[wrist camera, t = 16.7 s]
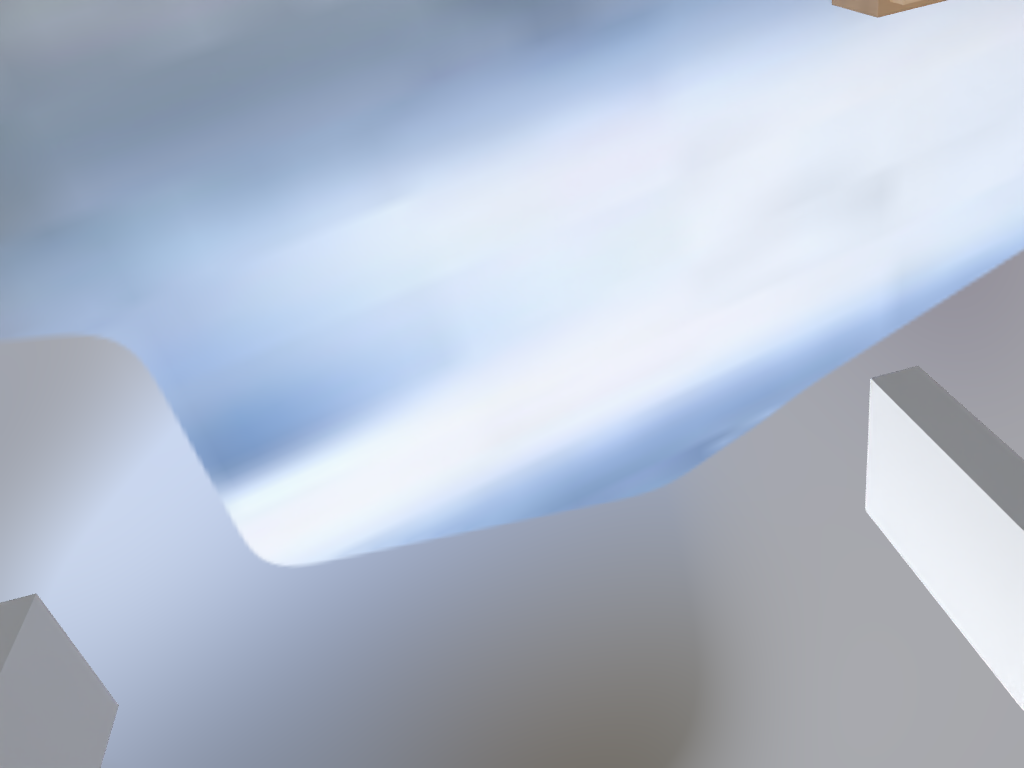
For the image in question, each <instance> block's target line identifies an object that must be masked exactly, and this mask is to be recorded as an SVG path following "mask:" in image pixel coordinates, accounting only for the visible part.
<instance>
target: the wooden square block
mask: <svg viewBox="0 0 1024 768" xmlns="http://www.w3.org/2000/svg"><path fill="white" fill-rule="evenodd" d="M942 1H946V0H832V5H835V6H839V7H842V8H846V9H850V10H853V11H857V12H860V13H864V14H867V15H871V16H874V17H882V16H886V15H890V14H894V13H898V12H902V11H906V10H910V9H914V8H918V7H922V6H926V5H930V4H934V3H938V2H942Z"/></svg>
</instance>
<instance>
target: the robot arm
mask: <svg viewBox="0 0 1024 768" xmlns="http://www.w3.org/2000/svg"><path fill="white" fill-rule="evenodd" d="M870 381H871V382H870V404H869V429H868V454H867V481H866V505H865V510H866V512H867V513H868V514H869V515H870V517H871V518H872V519H873V520H874V522H875V523H876V524H877V525H878V527H879V528H880V529H881V531H882V532H883V533H884V534H885V536H886V537H887V538H888V540H889V541H890V542H891V543H892V545H893V546H894V547H895V548H896V550H897V551H898V552H899V554H900V555H901V556H902V557H903V559H904V560H905V561H906V562H907V564H908V565H909V566H910V567H911V569H912V570H913V571H914V572H915V574H916V575H917V576H918V578H919V579H920V580H921V581H922V583H923V584H924V585H925V587H926V588H927V589H928V590H929V592H930V593H931V594H932V595H933V597H934V598H935V599H936V600H937V602H938V603H939V604H940V606H941V607H942V608H943V609H944V611H945V612H946V613H947V614H948V616H949V617H950V618H951V620H952V621H953V622H954V623H955V625H956V626H957V627H958V628H959V630H960V631H961V632H962V633H963V635H964V636H965V637H966V639H967V640H968V641H969V642H970V644H971V645H972V646H973V647H974V649H975V650H976V651H977V653H978V654H979V655H980V656H981V658H982V659H983V660H984V661H985V663H986V664H987V665H988V666H989V668H990V669H991V670H992V672H993V673H994V674H995V675H996V677H997V678H998V679H999V680H1000V682H1001V683H1002V684H1003V685H1004V687H1005V688H1006V689H1007V691H1008V692H1009V693H1010V694H1011V696H1012V697H1013V698H1014V699H1015V701H1016V702H1017V703H1018V705H1019V706H1020V707H1021V708H1022V710H1023V711H1024V460H1023V459H1022V458H1021V457H1020V456H1019V455H1018V454H1017V453H1016V452H1014V451H1013V450H1012V449H1011V448H1010V447H1009V446H1008V445H1007V444H1005V443H1004V442H1003V441H1002V440H1001V439H1000V438H999V437H997V436H996V435H995V434H994V433H993V432H992V431H991V430H990V429H988V428H987V427H986V426H985V425H984V424H983V423H982V422H980V420H978V419H977V418H976V417H975V416H974V415H973V414H972V413H971V412H969V411H968V410H967V409H966V408H965V407H964V406H963V405H962V404H960V403H959V402H958V401H957V400H956V399H955V398H954V397H953V396H951V395H950V394H949V393H948V392H947V391H946V390H945V389H944V388H942V387H941V386H940V385H939V384H938V383H937V382H936V381H935V380H933V379H932V378H931V377H930V376H929V375H928V374H927V373H926V372H924V371H923V370H922V369H921V368H920V367H919V366H915V367H912V368H908V369H904V370H900V371H896V372H892V373H888V374H885V375H881V376H877V377H873V378H870ZM118 706H119V705H118V704H117V702H116V701H115V700H114V699H113V697H112V696H111V694H110V693H109V691H108V690H107V689H106V687H105V686H104V685H103V683H102V682H101V681H100V679H99V678H98V677H97V675H96V674H95V672H94V671H93V670H92V668H91V667H90V666H89V664H88V663H87V662H86V660H85V659H84V657H83V656H82V655H81V653H80V652H79V651H78V649H77V648H76V647H75V645H74V644H73V643H72V641H71V640H70V638H69V637H68V636H67V634H66V633H65V632H64V630H63V629H62V628H61V626H60V625H59V623H58V622H57V621H56V619H55V618H54V617H53V615H52V614H51V613H50V611H49V610H48V609H47V607H46V606H45V605H44V603H43V602H42V600H41V599H40V598H39V596H38V595H37V594H32V595H29V596H25V597H21V598H17V599H13V600H9V601H6V602H1V603H0V768H101V764H102V761H103V757H104V754H105V751H106V747H107V744H108V740H109V737H110V733H111V730H112V727H113V722H114V720H115V716H116V713H117V710H118Z"/></svg>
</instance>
